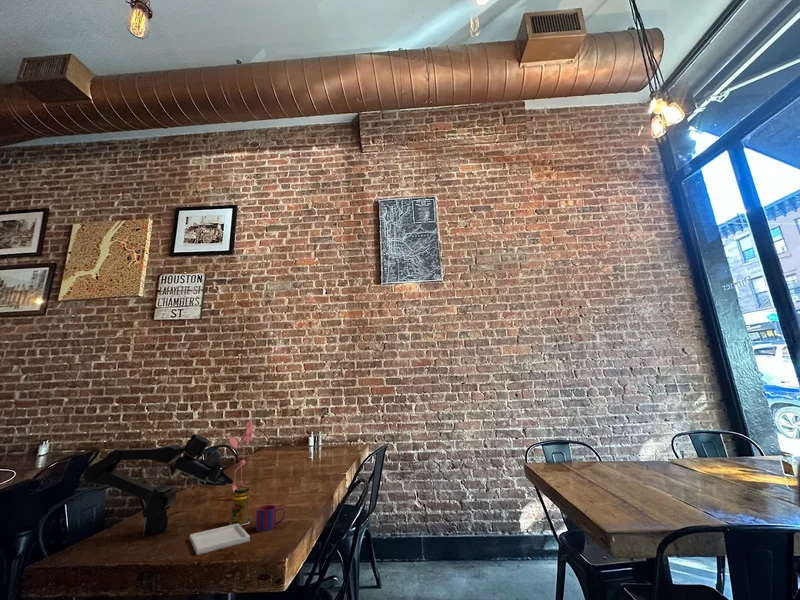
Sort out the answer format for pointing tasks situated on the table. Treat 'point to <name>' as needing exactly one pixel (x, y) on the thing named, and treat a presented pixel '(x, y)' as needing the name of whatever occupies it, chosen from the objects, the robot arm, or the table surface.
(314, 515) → the table surface
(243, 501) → the condiment
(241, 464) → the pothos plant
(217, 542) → the tray
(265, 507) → the mug
